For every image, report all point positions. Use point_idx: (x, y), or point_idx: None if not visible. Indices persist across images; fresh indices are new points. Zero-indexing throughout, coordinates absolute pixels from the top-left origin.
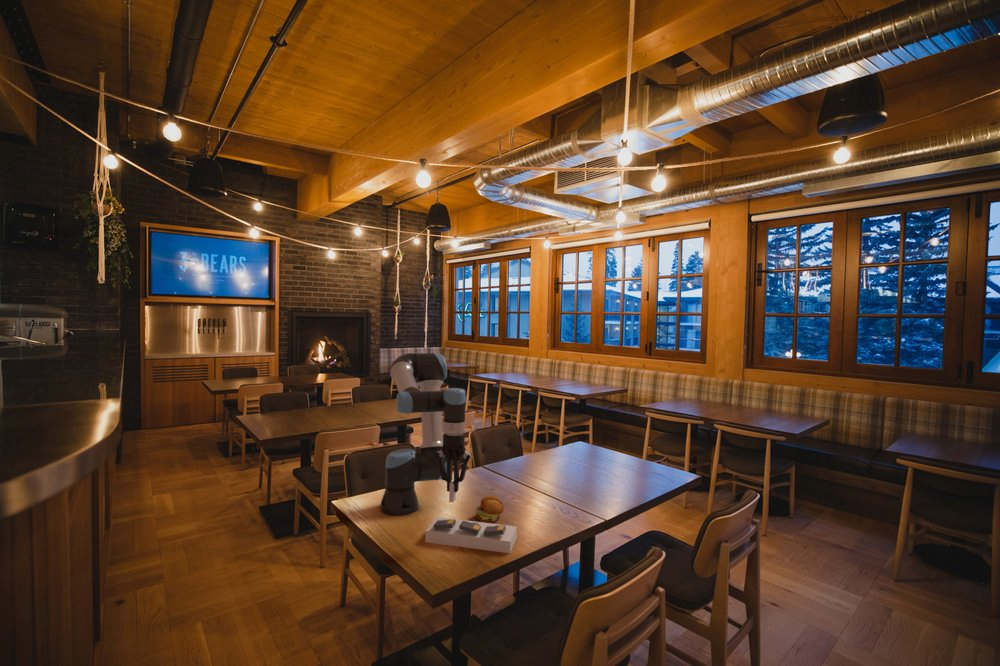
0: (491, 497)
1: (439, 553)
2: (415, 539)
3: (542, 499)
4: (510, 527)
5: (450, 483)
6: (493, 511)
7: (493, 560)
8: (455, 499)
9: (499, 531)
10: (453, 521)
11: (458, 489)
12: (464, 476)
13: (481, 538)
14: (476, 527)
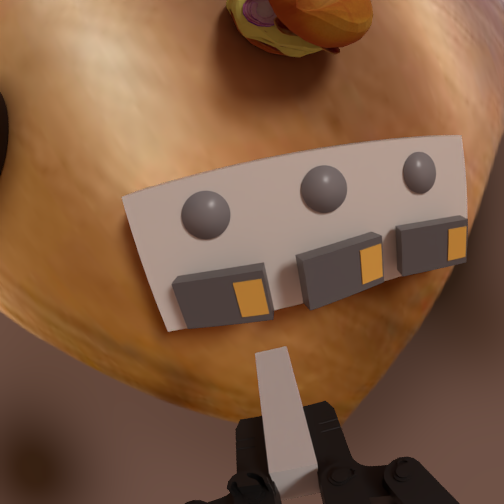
0: None
1: (260, 344)
2: (135, 307)
3: None
4: (448, 150)
5: (290, 498)
6: (351, 41)
7: (414, 298)
8: (287, 351)
9: (454, 263)
10: (265, 292)
11: (334, 410)
12: (433, 482)
13: (388, 278)
14: (372, 267)
